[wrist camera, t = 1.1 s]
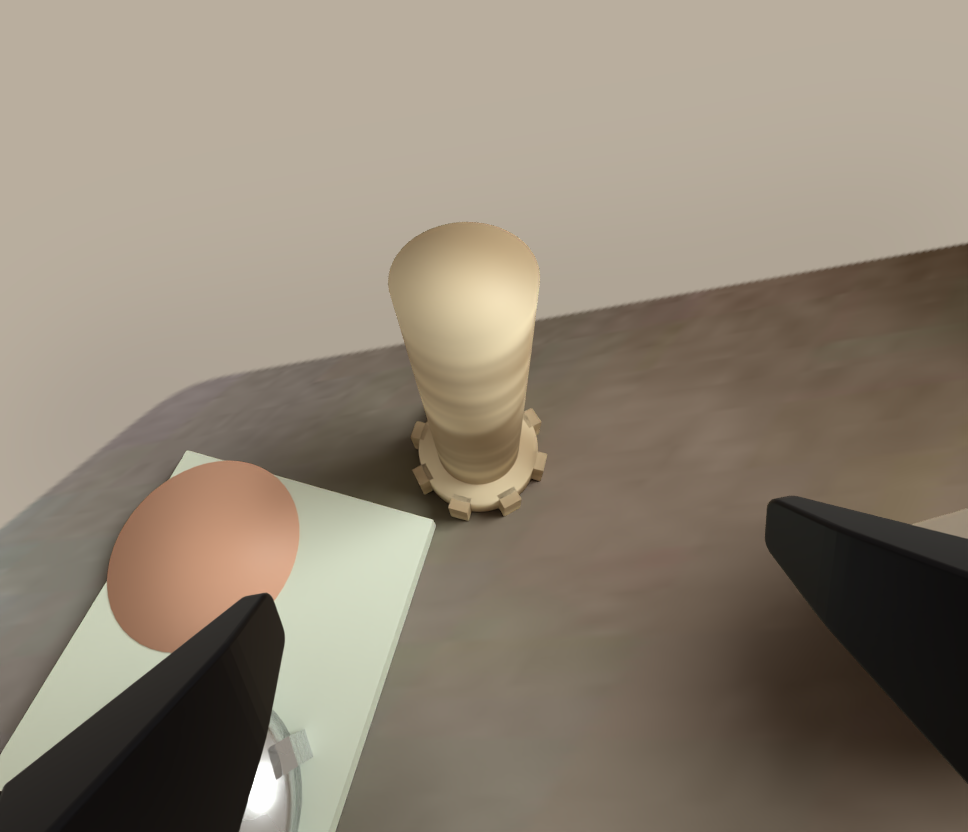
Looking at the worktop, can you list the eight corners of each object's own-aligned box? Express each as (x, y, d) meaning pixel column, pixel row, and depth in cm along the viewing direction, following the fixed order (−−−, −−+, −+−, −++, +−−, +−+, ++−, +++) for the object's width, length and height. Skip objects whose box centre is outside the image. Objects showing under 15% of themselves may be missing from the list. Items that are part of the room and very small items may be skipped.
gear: (238, 1051, 14) (189, 1128, 12) (-3, 934, 15) (-88, 984, 13) (354, 714, 18) (334, 724, 16) (154, 643, 19) (109, 643, 17)
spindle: (526, 537, 22) (563, 415, 10) (395, 500, 23) (292, 350, 11) (556, 416, 25) (610, 211, 13) (438, 387, 26) (391, 173, 14)
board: (270, 1028, 15) (251, 1060, 14) (-64, 871, 17) (-104, 887, 16) (437, 521, 22) (434, 515, 21) (191, 452, 24) (176, 442, 23)
